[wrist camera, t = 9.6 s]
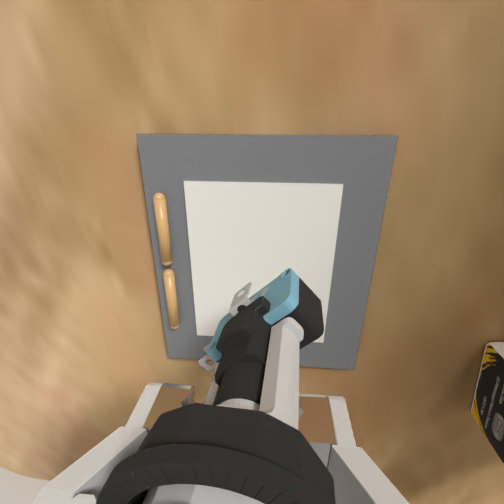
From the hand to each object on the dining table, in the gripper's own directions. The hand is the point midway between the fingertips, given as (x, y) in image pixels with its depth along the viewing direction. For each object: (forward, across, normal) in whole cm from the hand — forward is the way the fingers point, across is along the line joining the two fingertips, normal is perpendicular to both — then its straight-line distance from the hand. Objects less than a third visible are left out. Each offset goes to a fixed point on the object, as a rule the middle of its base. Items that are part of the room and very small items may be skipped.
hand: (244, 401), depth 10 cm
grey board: (+11, 0, 0) cm, 11 cm away
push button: (+5, 0, 0) cm, 5 cm away
